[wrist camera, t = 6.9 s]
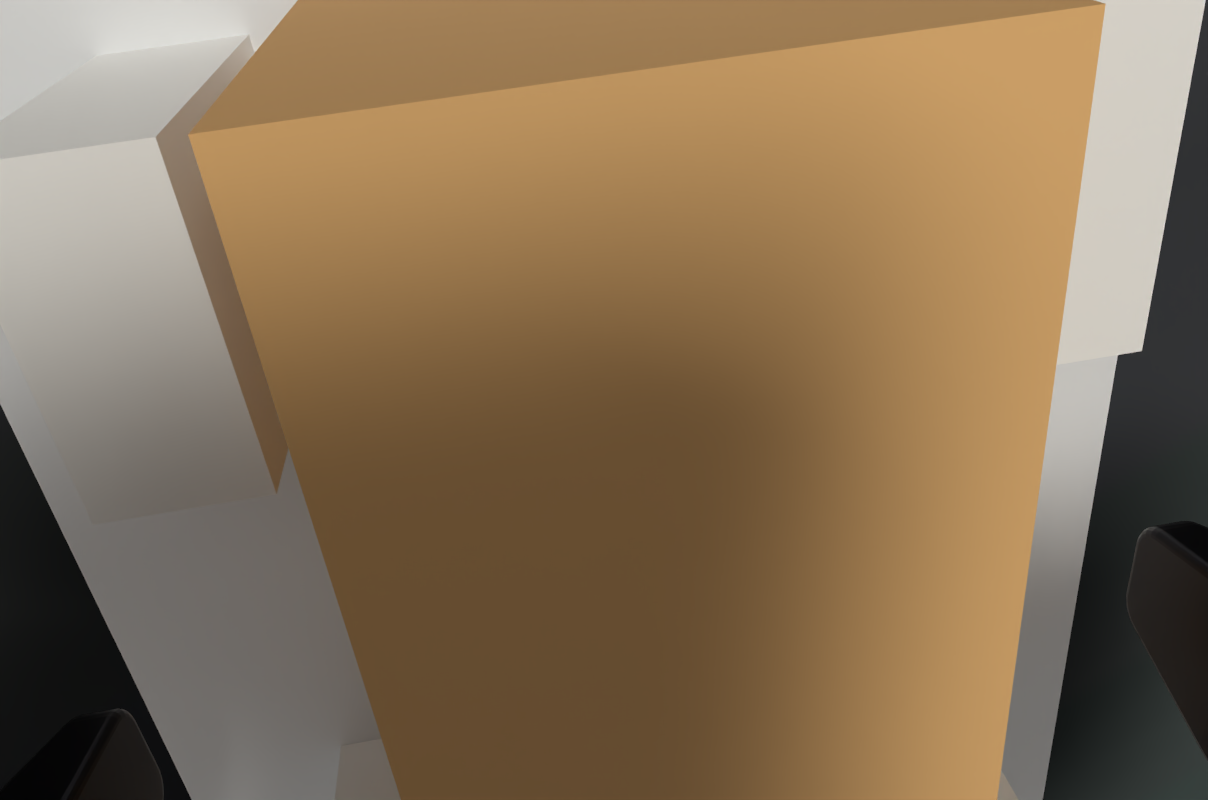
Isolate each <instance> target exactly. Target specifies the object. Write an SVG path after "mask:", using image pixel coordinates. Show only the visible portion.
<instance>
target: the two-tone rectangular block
mask: <svg viewBox="0 0 1208 800" xmlns="http://www.w3.org/2000/svg"><path fill="white" fill-rule="evenodd" d="M1105 5H1106V4H1105V3H1101V2H1098V1H1094V0H298V1H297V2H296V3H295V4H294V5H293V7H292V8H291V9H290V10H289V12H288V13H287V14H286V15H285V16H284V18H283V19H282V20H281V21H280V23H279V24H278V25H277V26H276V27H275V29H274V30H273V31H272V32H271V34H270V35H269V36H268V37H267V38H266V40H265V41H264V42H263V43H262V45H261V46H260V47H259V48H258V49H257V51H256V52H255V53H254V54H253V56H252V57H251V58H250V59H249V61H248V62H247V63H246V64H245V65H244V67H243V68H242V69H241V70H240V72H239V73H238V74H237V75H236V76H235V78H234V79H233V80H232V81H231V83H230V84H229V85H228V86H227V87H226V89H225V90H224V91H223V92H222V94H221V95H220V96H219V97H218V98H217V100H216V101H215V102H214V103H213V105H212V106H211V107H210V108H209V109H208V111H207V112H206V113H205V114H204V116H203V117H202V118H201V119H200V121H199V122H198V123H197V124H196V125H195V127H194V128H193V129H192V130H191V132H190V133H189V134H188V136H189V139H190V142H191V145H192V148H193V152H194V155H195V158H196V161H197V164H198V167H199V170H200V173H201V177H202V180H203V183H204V186H205V189H206V192H207V195H208V198H209V202H210V205H211V208H212V211H213V214H214V217H215V220H216V223H217V227H218V230H219V233H220V236H221V239H222V242H223V245H224V248H225V252H226V255H227V258H228V261H229V264H230V267H231V270H232V273H233V276H234V280H235V283H236V286H237V289H238V292H239V295H240V298H241V301H242V305H243V308H244V311H245V314H246V317H247V320H248V323H249V326H250V330H251V333H252V336H253V339H254V342H255V345H256V348H257V351H258V355H259V358H260V361H261V364H262V367H263V370H264V373H265V376H266V380H267V383H268V386H269V389H270V392H271V395H272V398H273V401H274V405H275V408H276V411H277V414H278V417H279V420H280V423H281V426H282V430H283V433H284V436H285V439H286V442H287V445H288V448H289V451H290V455H291V458H292V461H293V464H294V467H295V470H296V473H297V476H298V480H299V483H300V486H301V489H302V492H303V495H304V498H305V501H306V505H307V508H308V511H309V514H310V517H311V520H312V523H313V526H314V530H315V533H316V536H317V539H318V542H319V545H320V548H321V551H322V555H323V558H324V561H325V564H326V567H327V570H328V573H329V576H330V579H331V583H332V586H333V589H334V592H335V595H336V598H337V601H338V604H339V608H340V611H341V614H342V617H343V620H344V623H345V626H346V629H347V633H348V636H349V639H350V642H351V645H352V648H353V651H354V654H355V658H356V661H357V664H358V667H359V670H360V673H361V676H362V679H363V683H364V686H365V689H366V692H367V695H368V698H369V701H370V704H371V708H372V711H373V714H374V717H375V720H376V723H377V726H378V729H379V733H380V736H381V739H382V742H383V745H384V748H385V751H386V754H387V758H388V761H389V764H390V767H391V770H392V773H393V776H394V779H395V783H396V786H397V789H398V792H399V795H400V798H401V800H997V797H998V789H999V782H1000V775H1001V767H1002V760H1003V753H1004V745H1005V738H1006V731H1007V723H1008V716H1009V709H1010V701H1011V694H1012V687H1013V679H1014V672H1015V665H1016V657H1017V650H1018V643H1019V635H1020V628H1021V621H1022V613H1023V606H1024V599H1025V591H1026V584H1027V577H1028V569H1029V562H1030V555H1031V547H1032V540H1033V533H1034V525H1035V518H1036V511H1037V503H1038V496H1039V489H1040V481H1041V474H1042V467H1043V459H1044V452H1045V445H1046V437H1047V430H1048V423H1049V415H1050V408H1051V401H1052V393H1053V386H1054V379H1055V371H1056V364H1057V357H1058V349H1059V342H1060V335H1061V327H1062V320H1063V313H1064V305H1065V298H1066V291H1067V283H1068V276H1069V269H1070V261H1071V254H1072V247H1073V239H1074V232H1075V225H1076V217H1077V210H1078V203H1079V195H1080V188H1081V181H1082V173H1083V166H1084V159H1085V151H1086V144H1087V137H1088V129H1089V122H1090V115H1091V107H1092V100H1093V93H1094V85H1095V78H1096V71H1097V63H1098V56H1099V49H1100V42H1101V34H1102V27H1103V20H1104V12H1105Z"/></svg>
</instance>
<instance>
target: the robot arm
mask: <svg viewBox="0 0 1208 800" xmlns="http://www.w3.org/2000/svg"><path fill="white" fill-rule="evenodd" d="M1126 603H1127V610H1128V614H1129V617H1130V620H1131V622H1132V624H1133V626H1134V628H1135V630H1136V632H1137V634H1138V636H1139V637H1140V639H1141V641H1142V643H1143V645H1144V647H1145V648H1146V650H1147V652H1148V654H1149V656H1150V658H1151V659H1152V661H1153V663H1154V665H1155V667H1156V669H1157V670H1158V672H1159V674H1160V676H1161V678H1162V680H1163V681H1164V683H1165V685H1166V687H1167V689H1168V691H1169V692H1170V694H1171V696H1172V698H1173V700H1174V702H1175V703H1176V705H1177V707H1178V709H1179V711H1180V713H1181V714H1182V716H1183V718H1184V720H1185V722H1186V723H1187V725H1188V727H1189V729H1190V731H1191V733H1192V734H1193V736H1194V738H1195V740H1196V742H1197V744H1198V745H1199V747H1200V749H1201V751H1202V752H1203V754H1204V756H1205V758H1206V759H1207V761H1208V528H1207V527H1205V526H1203V525H1200V524H1197V523H1195V522H1190V521H1180V522H1175V523H1169V524H1163V525H1158V526H1152V527H1149V528H1147V529H1145V530H1144V531H1143V532H1142V533H1141V534H1140V536H1139V537H1138V540H1137V544H1136V549H1135V554H1134V559H1133V564H1132V569H1131V574H1130V579H1129V584H1128V589H1127V595H1126ZM163 797H164V791H163V780H162V776H161V772H160V770H159V767H158V765H157V763H156V761H155V759H154V757H153V755H152V753H151V751H150V749H149V747H148V745H147V743H146V741H145V739H144V737H143V735H142V733H141V731H140V729H139V727H138V725H137V723H136V721H135V719H134V718H133V716H132V715H131V714H130V713H129V712H128V711H126V710H124V709H112V710H106V711H100V712H95V713H89V714H83V715H80V716H77V717H75V718H73V719H72V720H70V721H69V722H68V723H67V724H66V725H65V726H64V727H63V728H62V729H61V730H60V731H59V732H58V733H57V734H56V735H55V736H54V737H53V738H52V739H51V740H50V741H49V742H48V743H47V744H46V745H45V746H44V747H43V748H42V749H41V750H40V751H39V752H38V753H37V754H36V755H35V756H34V757H33V758H32V759H31V760H30V761H29V762H28V763H27V764H26V765H25V766H24V767H23V768H22V769H21V770H20V771H19V772H18V773H17V774H16V775H15V776H14V777H13V778H12V779H11V780H10V781H9V782H8V783H7V784H6V785H5V786H4V787H3V788H2V789H1V790H0V800H163Z"/></svg>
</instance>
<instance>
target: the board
mask: <svg viewBox="0 0 1208 800" xmlns="http://www.w3.org/2000/svg"><path fill="white" fill-rule="evenodd" d="M297 1H298V0H0V405H1V407H2V409H3V411H4V413H5V415H6V417H7V419H8V421H9V423H10V425H11V427H12V429H13V431H14V434H15V436H16V438H17V440H18V442H19V444H20V446H21V448H22V450H23V452H24V454H25V456H26V458H27V460H28V462H29V465H30V467H31V469H32V471H33V473H34V475H35V477H36V479H37V481H38V483H39V485H40V487H41V489H42V491H43V493H44V496H45V498H46V500H47V502H48V504H49V506H50V508H51V510H52V512H53V514H54V516H55V518H56V520H57V522H58V525H59V527H60V529H61V531H62V533H63V535H64V537H65V539H66V541H67V543H68V545H69V547H70V549H71V551H72V553H73V556H74V558H75V560H76V562H77V564H78V566H79V568H80V570H81V572H82V574H83V576H84V578H85V580H86V582H87V584H88V587H89V589H90V591H91V593H92V595H93V597H94V599H95V601H96V603H97V605H98V607H99V609H100V611H101V613H102V615H103V618H104V620H105V622H106V624H107V626H108V628H109V630H110V632H111V634H112V636H113V638H114V640H115V642H116V644H117V646H118V649H119V651H120V653H121V655H122V657H123V659H124V661H125V663H126V665H127V667H128V669H129V671H130V673H131V675H132V677H133V680H134V682H135V684H136V686H137V688H138V690H139V692H140V694H141V696H142V698H143V700H144V702H145V704H146V706H147V708H148V711H149V713H150V715H151V717H152V719H153V721H154V723H155V725H156V727H157V729H158V731H159V733H160V735H161V737H162V739H163V742H164V744H165V746H166V748H167V750H168V752H169V754H170V756H171V758H172V760H173V762H174V764H175V766H176V768H177V770H178V773H179V775H180V777H181V779H182V781H183V783H184V785H185V787H186V789H187V791H188V793H189V795H190V797H191V799H192V800H401V798H400V795H399V792H398V789H397V786H396V783H395V779H394V776H393V773H392V770H391V767H390V764H389V761H388V758H387V754H386V751H385V748H384V745H383V742H382V739H381V736H380V733H379V729H378V726H377V723H376V720H375V717H374V714H373V711H372V708H371V704H370V701H369V698H368V695H367V692H366V689H365V686H364V683H363V679H362V676H361V673H360V670H359V667H358V664H357V661H356V658H355V654H354V651H353V648H352V645H351V642H350V639H349V636H348V633H347V629H346V626H345V623H344V620H343V617H342V614H341V611H340V608H339V604H338V601H337V598H336V595H335V592H334V589H333V586H332V583H331V579H330V576H329V573H328V570H327V567H326V564H325V561H324V558H323V555H322V551H321V548H320V545H319V542H318V539H317V536H316V533H315V530H314V526H313V523H312V520H311V517H310V514H309V511H308V508H307V505H306V501H305V498H304V495H303V492H302V489H301V486H300V483H299V480H298V476H297V473H296V470H295V467H294V464H293V461H292V458H291V455H290V451H289V448H288V445H287V442H286V439H285V436H284V433H283V430H282V426H281V423H280V420H279V417H278V414H277V411H276V408H275V405H274V401H273V398H272V395H271V392H270V389H269V386H268V383H267V380H266V376H265V373H264V370H263V367H262V364H261V361H260V358H259V355H258V351H257V348H256V345H255V342H254V339H253V336H252V333H251V330H250V326H249V323H248V320H247V317H246V314H245V311H244V308H243V305H242V301H241V298H240V295H239V292H238V289H237V286H236V283H235V280H234V276H233V273H232V270H231V267H230V264H229V261H228V258H227V255H226V252H225V248H224V245H223V242H222V239H221V236H220V233H219V230H218V227H217V223H216V220H215V217H214V214H213V211H212V208H211V205H210V202H209V198H208V195H207V192H206V189H205V186H204V183H203V180H202V177H201V173H200V170H199V167H198V164H197V161H196V158H195V155H194V152H193V148H192V145H191V142H190V139H189V136H188V134H189V133H190V132H191V130H192V129H193V128H194V127H195V125H196V124H197V123H198V122H199V121H200V119H201V118H202V117H203V116H204V114H205V113H206V112H207V111H208V109H209V108H210V107H211V106H212V105H213V103H214V102H215V101H216V100H217V98H218V97H219V96H220V95H221V94H222V92H223V91H224V90H225V89H226V87H227V86H228V85H229V84H230V83H231V81H232V80H233V79H234V78H235V76H236V75H237V74H238V73H239V72H240V70H241V69H242V68H243V67H244V65H245V64H246V63H247V62H248V61H249V59H250V58H251V57H252V56H253V54H254V53H255V52H256V51H257V49H258V48H259V47H260V46H261V45H262V43H263V42H264V41H265V40H266V38H267V37H268V36H269V35H270V34H271V32H272V31H273V30H274V29H275V27H276V26H277V25H278V24H279V23H280V21H281V20H282V19H283V18H284V16H285V15H286V14H287V13H288V12H289V10H290V9H291V8H292V7H293V5H294V4H295V3H296V2H297ZM1094 1H1098V2H1101V3H1105V4H1106V5H1105V12H1104V20H1103V27H1102V34H1101V42H1100V49H1099V56H1098V63H1097V71H1096V78H1095V85H1094V93H1093V100H1092V107H1091V115H1090V122H1089V129H1088V137H1087V144H1086V151H1085V159H1084V166H1083V173H1082V181H1081V188H1080V195H1079V203H1078V210H1077V217H1076V225H1075V232H1074V239H1073V247H1072V254H1071V261H1070V269H1069V276H1068V283H1067V291H1066V298H1065V305H1064V313H1063V320H1062V327H1061V335H1060V342H1059V349H1058V357H1057V364H1056V371H1055V379H1054V386H1053V393H1052V401H1051V408H1050V415H1049V423H1048V430H1047V437H1046V445H1045V452H1044V459H1043V467H1042V474H1041V481H1040V489H1039V496H1038V503H1037V511H1036V518H1035V525H1034V533H1033V540H1032V547H1031V555H1030V562H1029V569H1028V577H1027V584H1026V591H1025V599H1024V606H1023V613H1022V621H1021V628H1020V635H1019V643H1018V650H1017V657H1016V665H1015V672H1014V679H1013V687H1012V694H1011V701H1010V709H1009V716H1008V723H1007V731H1006V738H1005V745H1004V753H1003V760H1002V767H1001V775H1000V782H999V789H998V797H997V800H1043V795H1044V789H1045V783H1046V777H1047V771H1048V765H1049V760H1050V754H1051V748H1052V742H1053V736H1054V730H1055V724H1056V718H1057V712H1058V706H1059V700H1060V694H1061V688H1062V682H1063V676H1064V671H1065V665H1066V659H1067V653H1068V647H1069V641H1070V635H1071V629H1072V623H1073V617H1074V611H1075V605H1076V599H1077V593H1078V587H1079V582H1080V576H1081V570H1082V564H1083V558H1084V552H1085V546H1086V540H1087V534H1088V528H1089V522H1090V516H1091V510H1092V504H1093V498H1094V493H1095V487H1096V481H1097V475H1098V469H1099V463H1100V457H1101V451H1102V445H1103V439H1104V433H1105V427H1106V421H1107V415H1108V409H1109V404H1110V398H1111V392H1112V386H1113V380H1114V374H1115V368H1116V362H1117V356H1118V355H1120V354H1126V353H1132V352H1138V351H1142V347H1143V342H1144V336H1145V331H1146V325H1147V320H1148V314H1149V309H1150V303H1151V298H1152V292H1153V287H1154V281H1155V276H1156V270H1157V265H1158V259H1159V254H1160V248H1161V243H1162V237H1163V232H1164V226H1165V221H1166V215H1167V210H1168V204H1169V199H1170V193H1171V188H1172V182H1173V177H1174V171H1175V166H1176V160H1177V155H1178V149H1179V144H1180V138H1181V133H1182V127H1183V122H1184V116H1185V111H1186V105H1187V100H1188V94H1189V89H1190V83H1191V78H1192V72H1193V67H1194V61H1195V56H1196V50H1197V45H1198V39H1199V34H1200V28H1201V23H1202V17H1203V12H1204V6H1205V1H1206V0H1094Z"/></svg>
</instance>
